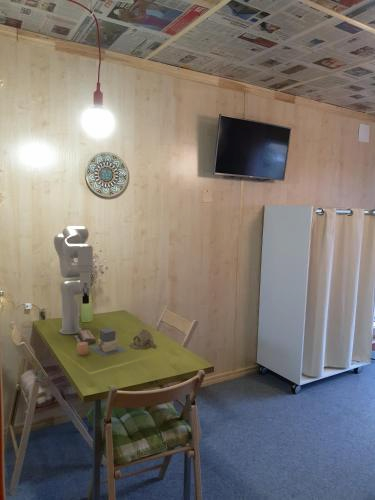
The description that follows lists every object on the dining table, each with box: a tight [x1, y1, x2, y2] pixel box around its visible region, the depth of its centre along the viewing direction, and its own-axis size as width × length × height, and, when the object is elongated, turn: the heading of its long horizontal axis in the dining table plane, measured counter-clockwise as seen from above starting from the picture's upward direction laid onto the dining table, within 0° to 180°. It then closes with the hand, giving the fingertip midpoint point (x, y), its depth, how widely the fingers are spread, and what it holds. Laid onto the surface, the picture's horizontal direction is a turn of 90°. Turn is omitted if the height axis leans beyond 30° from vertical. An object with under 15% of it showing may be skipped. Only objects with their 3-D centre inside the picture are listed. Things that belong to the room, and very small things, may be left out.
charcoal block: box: [99, 327, 117, 342], centre depth 198 cm, size 6×6×5 cm
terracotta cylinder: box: [76, 342, 89, 356], centre depth 192 cm, size 6×6×6 cm
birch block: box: [97, 338, 118, 352], centre depth 199 cm, size 7×7×5 cm
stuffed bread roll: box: [129, 328, 156, 350], centre depth 206 cm, size 14×11×10 cm
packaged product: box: [74, 329, 97, 345], centre depth 212 cm, size 18×5×10 cm
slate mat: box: [88, 344, 127, 357], centre depth 199 cm, size 16×14×1 cm
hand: (85, 301), depth 195 cm, fingers open, 9 cm apart
